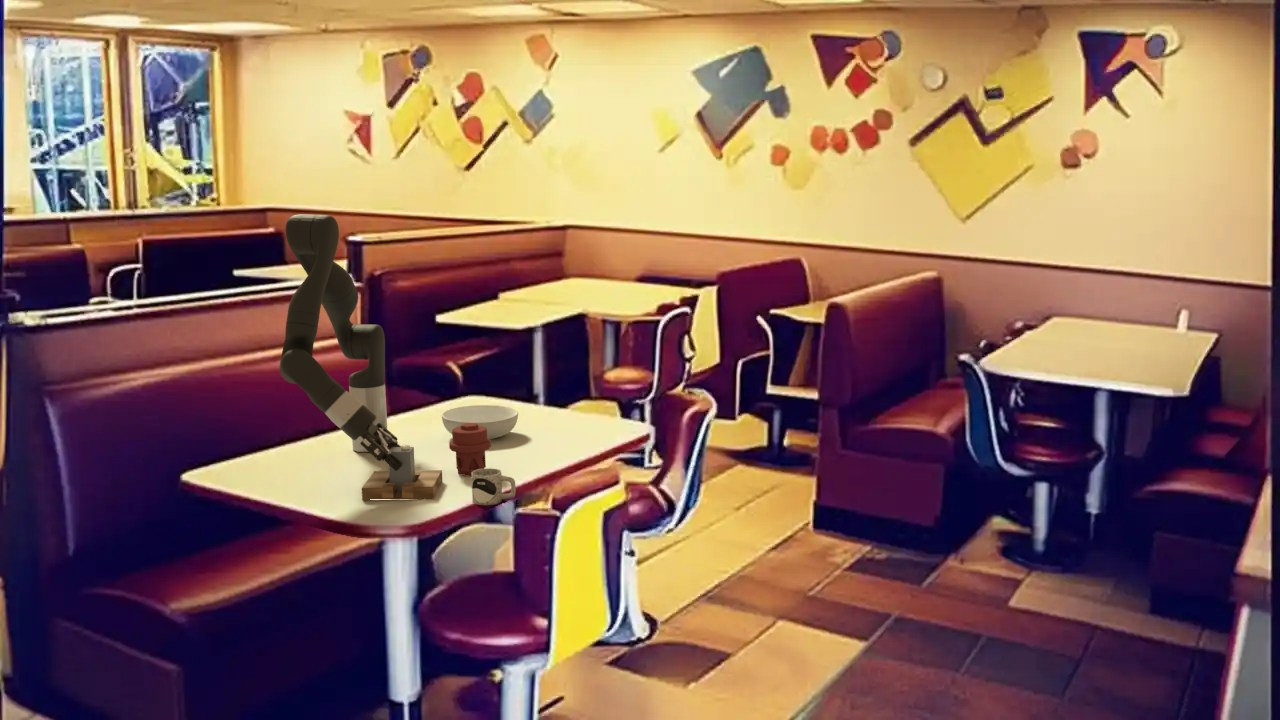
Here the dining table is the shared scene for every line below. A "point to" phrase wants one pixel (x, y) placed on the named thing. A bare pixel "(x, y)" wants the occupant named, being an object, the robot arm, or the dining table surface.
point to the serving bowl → (482, 418)
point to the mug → (490, 486)
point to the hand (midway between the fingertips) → (403, 462)
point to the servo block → (403, 466)
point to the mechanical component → (469, 447)
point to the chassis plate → (420, 489)
